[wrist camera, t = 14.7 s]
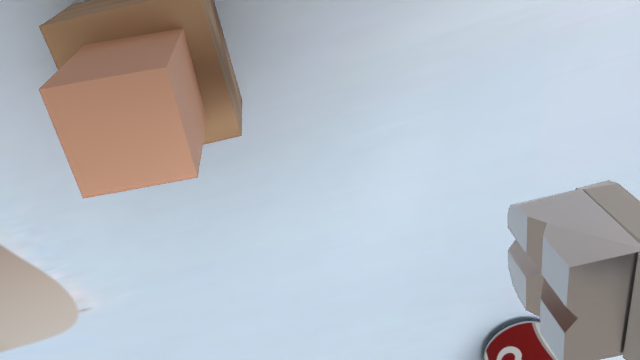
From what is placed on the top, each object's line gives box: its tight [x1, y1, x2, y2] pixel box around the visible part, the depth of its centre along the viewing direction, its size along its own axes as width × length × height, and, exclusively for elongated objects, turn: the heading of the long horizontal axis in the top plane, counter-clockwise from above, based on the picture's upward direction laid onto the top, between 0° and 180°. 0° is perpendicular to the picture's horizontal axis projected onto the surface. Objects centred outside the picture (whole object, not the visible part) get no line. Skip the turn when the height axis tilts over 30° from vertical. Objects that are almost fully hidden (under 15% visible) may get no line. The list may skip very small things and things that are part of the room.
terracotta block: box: [39, 28, 207, 198], centre depth 26 cm, size 5×5×7 cm
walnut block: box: [39, 0, 242, 145], centre depth 32 cm, size 8×8×6 cm
